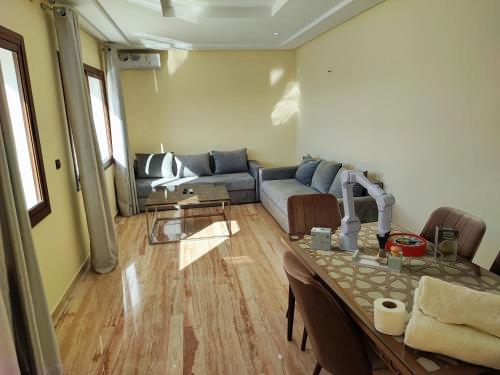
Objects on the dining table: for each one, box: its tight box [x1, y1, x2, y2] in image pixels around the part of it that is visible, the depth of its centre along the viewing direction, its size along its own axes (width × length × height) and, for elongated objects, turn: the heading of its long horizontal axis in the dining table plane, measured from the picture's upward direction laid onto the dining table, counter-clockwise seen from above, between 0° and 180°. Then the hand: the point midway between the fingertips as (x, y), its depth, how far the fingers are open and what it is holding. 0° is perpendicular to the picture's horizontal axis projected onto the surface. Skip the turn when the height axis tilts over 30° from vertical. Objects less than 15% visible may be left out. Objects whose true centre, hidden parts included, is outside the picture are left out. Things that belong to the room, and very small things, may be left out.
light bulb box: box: [310, 227, 332, 252], centre depth 190 cm, size 11×7×11 cm, turn 71°
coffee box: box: [433, 225, 460, 262], centre depth 170 cm, size 9×6×16 cm
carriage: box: [375, 246, 390, 264], centre depth 166 cm, size 5×8×7 cm, turn 151°
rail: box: [351, 249, 403, 274], centre depth 168 cm, size 22×10×6 cm, turn 61°
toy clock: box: [385, 232, 428, 258], centre depth 184 cm, size 20×6×20 cm
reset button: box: [391, 246, 402, 257], centre depth 163 cm, size 5×5×6 cm
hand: (383, 245), depth 165 cm, fingers open, 7 cm apart
